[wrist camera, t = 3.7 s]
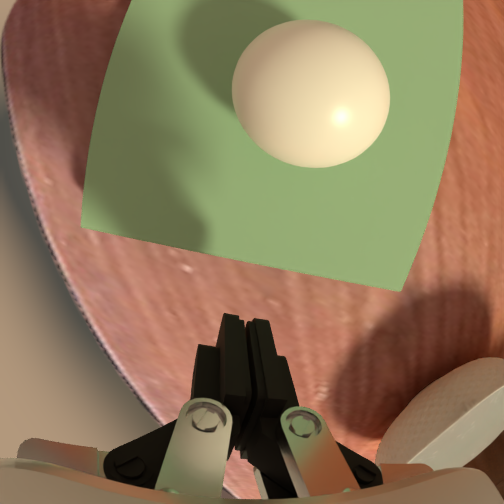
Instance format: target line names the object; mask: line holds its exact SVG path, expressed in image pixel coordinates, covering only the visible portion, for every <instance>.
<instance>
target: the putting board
mask: <svg viewBox="0 0 504 504" xmlns="http://www.w3.org/2000/svg"><path fill="white" fill-rule="evenodd" d="M306 19H307V20H319V21H324V22H329V23H332V24H335V25H338V26H340V27H343V28H345V29H347V30H349V31H350V32H352V33H354V34H355V35H356V36H358V37H359V38H360V39H362V40H363V41H364V42H365V43H366V44H367V45H368V46H369V47H370V48H371V49H372V51H373V52H374V53H375V54H376V56H377V57H378V59H379V60H380V62H381V64H382V66H383V68H384V70H385V73H386V76H387V79H388V83H389V89H390V107H389V113H388V116H387V120H386V123H385V125H384V127H383V129H382V131H381V133H380V134H379V136H378V138H377V139H376V140H375V141H374V142H373V144H372V145H371V146H370V147H369V148H367V149H366V150H365V151H364V152H363V153H362V154H360V155H359V156H357V157H356V158H354V159H352V160H349V161H347V162H345V163H342V164H339V165H336V166H331V167H325V168H308V167H300V166H295V165H291V164H288V163H285V162H282V161H280V160H278V159H276V158H274V157H272V156H271V155H269V154H268V153H266V152H265V151H263V150H262V149H261V148H260V147H259V146H257V145H256V144H255V143H254V141H253V140H252V139H251V138H250V137H249V136H248V134H247V133H246V132H245V130H244V129H243V127H242V125H241V124H240V122H239V120H238V117H237V115H236V112H235V109H234V105H233V100H232V80H233V75H234V71H235V68H236V65H237V63H238V60H239V58H240V56H241V55H242V53H243V51H244V50H245V49H246V48H247V46H248V45H249V44H250V43H251V42H252V41H253V40H254V39H255V38H256V37H257V36H259V35H260V34H261V33H263V32H264V31H266V30H268V29H270V28H272V27H274V26H276V25H279V24H282V23H285V22H289V21H294V20H306ZM462 47H463V0H132V1H131V3H130V6H129V8H128V10H127V13H126V15H125V18H124V20H123V23H122V26H121V28H120V31H119V34H118V37H117V39H116V42H115V45H114V48H113V51H112V54H111V58H110V61H109V64H108V67H107V71H106V74H105V78H104V81H103V85H102V89H101V93H100V97H99V101H98V105H97V110H96V114H95V119H94V124H93V129H92V134H91V140H90V146H89V152H88V159H87V166H86V173H85V181H84V191H83V201H82V214H81V227H82V228H87V229H91V230H96V231H100V232H105V233H110V234H114V235H119V236H124V237H128V238H133V239H138V240H142V241H147V242H152V243H157V244H161V245H166V246H171V247H176V248H180V249H185V250H190V251H195V252H200V253H205V254H210V255H214V256H219V257H224V258H229V259H234V260H239V261H244V262H249V263H254V264H259V265H264V266H269V267H274V268H279V269H284V270H289V271H294V272H299V273H304V274H310V275H315V276H320V277H325V278H330V279H335V280H341V281H346V282H351V283H356V284H362V285H367V286H372V287H377V288H383V289H388V290H393V291H399V292H401V290H402V287H403V285H404V283H405V281H406V278H407V276H408V273H409V271H410V268H411V266H412V264H413V261H414V258H415V256H416V253H417V251H418V248H419V245H420V243H421V240H422V237H423V234H424V231H425V229H426V226H427V223H428V220H429V217H430V214H431V211H432V207H433V204H434V201H435V198H436V194H437V191H438V187H439V184H440V180H441V176H442V172H443V169H444V165H445V160H446V156H447V152H448V148H449V143H450V138H451V133H452V128H453V123H454V117H455V111H456V105H457V98H458V91H459V83H460V73H461V62H462Z"/></svg>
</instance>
